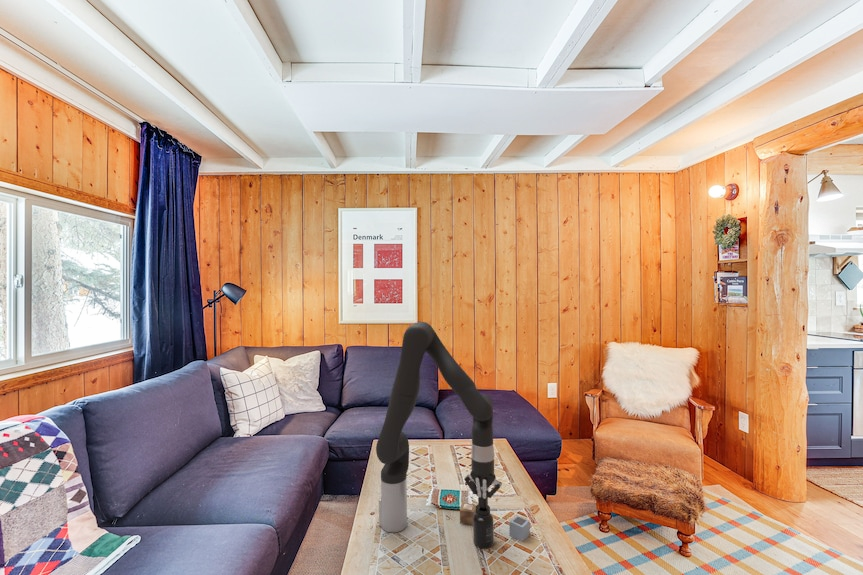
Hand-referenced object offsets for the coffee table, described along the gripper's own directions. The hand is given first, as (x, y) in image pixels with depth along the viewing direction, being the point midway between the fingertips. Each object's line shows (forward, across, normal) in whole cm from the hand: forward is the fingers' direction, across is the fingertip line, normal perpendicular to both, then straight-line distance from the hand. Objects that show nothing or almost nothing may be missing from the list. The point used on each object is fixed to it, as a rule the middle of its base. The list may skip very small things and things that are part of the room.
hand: (483, 507), depth 133 cm
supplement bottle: (+12, 0, 0) cm, 12 cm away
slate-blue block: (+12, +10, +9) cm, 18 cm away
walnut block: (+12, -9, +9) cm, 18 cm away
